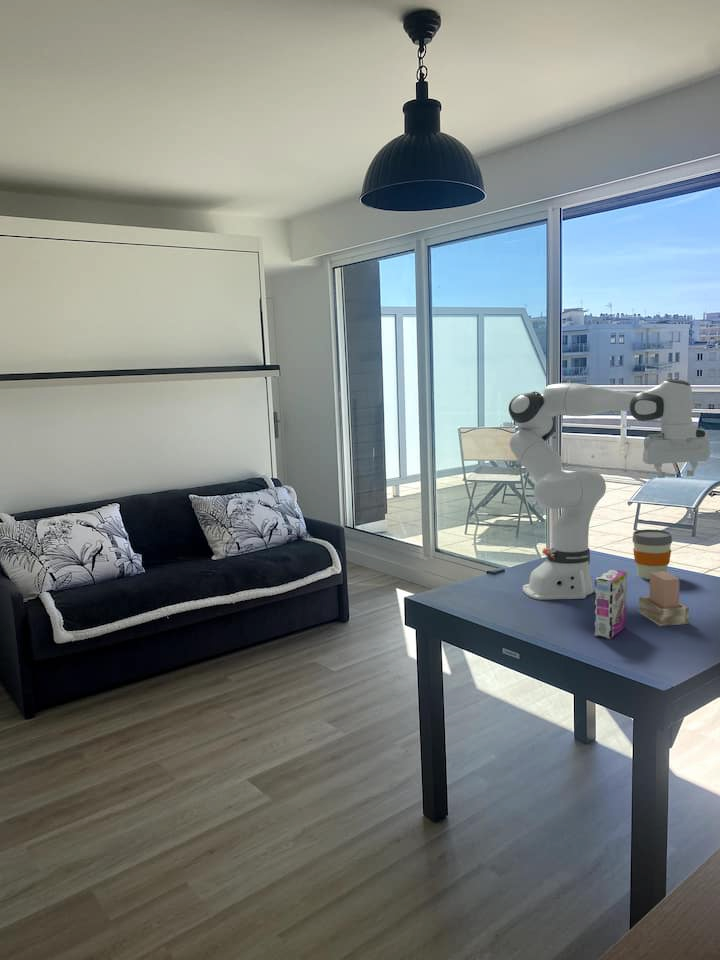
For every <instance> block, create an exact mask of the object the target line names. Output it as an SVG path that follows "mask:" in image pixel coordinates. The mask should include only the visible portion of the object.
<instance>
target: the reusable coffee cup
mask: <svg viewBox="0 0 720 960" xmlns="http://www.w3.org/2000/svg"><path fill="white" fill-rule="evenodd" d="M632 542H633V548H632V550H633V557H634V558H633V559H634V562H635V565H636V571H637V577H638V576H639V577H638V578H640V577H641V578H640V579H643V578H645V579H644V580H649V579H650V572H661V571H665V572H667V573H668V565H669V564H670V563H671V555H672V554H671V553H672V549H671V546H672V543H673V539H672V533H671V532H670V531H666V530H661V529H650V528H649V529H647V528H646V529H639V530H635V531H633V534H632Z"/></svg>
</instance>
